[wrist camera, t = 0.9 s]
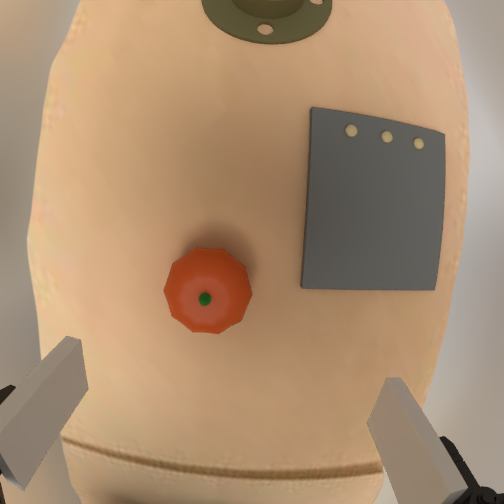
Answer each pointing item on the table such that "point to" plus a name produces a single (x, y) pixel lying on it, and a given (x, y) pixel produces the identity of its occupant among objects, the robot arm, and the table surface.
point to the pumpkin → (208, 290)
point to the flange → (268, 18)
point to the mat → (372, 204)
